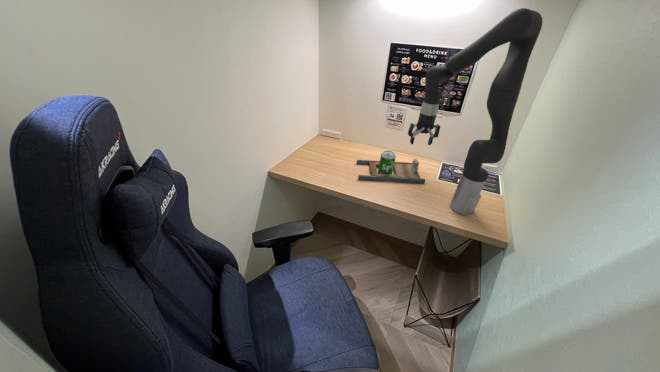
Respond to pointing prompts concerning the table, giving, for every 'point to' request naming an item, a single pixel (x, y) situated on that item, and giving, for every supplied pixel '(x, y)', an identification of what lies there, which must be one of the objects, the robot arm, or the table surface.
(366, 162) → the lane rails
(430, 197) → the table surface
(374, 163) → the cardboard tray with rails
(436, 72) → the robot arm
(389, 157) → the soda can
